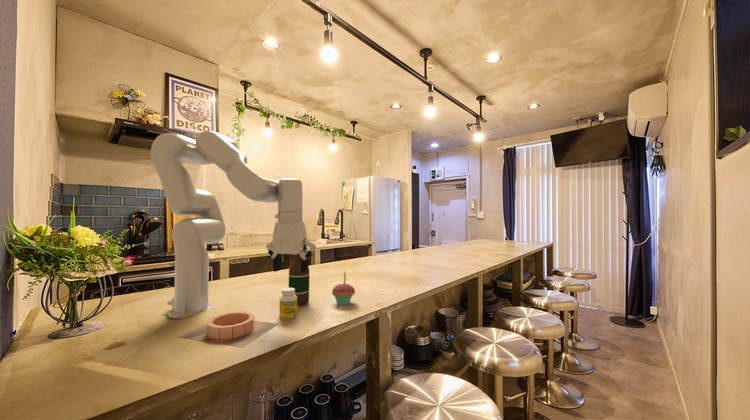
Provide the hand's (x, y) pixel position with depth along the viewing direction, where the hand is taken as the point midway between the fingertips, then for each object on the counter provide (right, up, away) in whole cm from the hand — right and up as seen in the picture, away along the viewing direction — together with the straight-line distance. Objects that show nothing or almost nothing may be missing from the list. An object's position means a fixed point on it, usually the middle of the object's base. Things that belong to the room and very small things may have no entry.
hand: (290, 271), depth 88 cm
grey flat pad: (-13, -15, -11) cm, 23 cm away
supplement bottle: (-1, -15, 0) cm, 15 cm away
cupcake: (+15, -16, +16) cm, 27 cm away
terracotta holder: (-13, -14, -11) cm, 22 cm away
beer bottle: (-2, -16, +16) cm, 22 cm away
